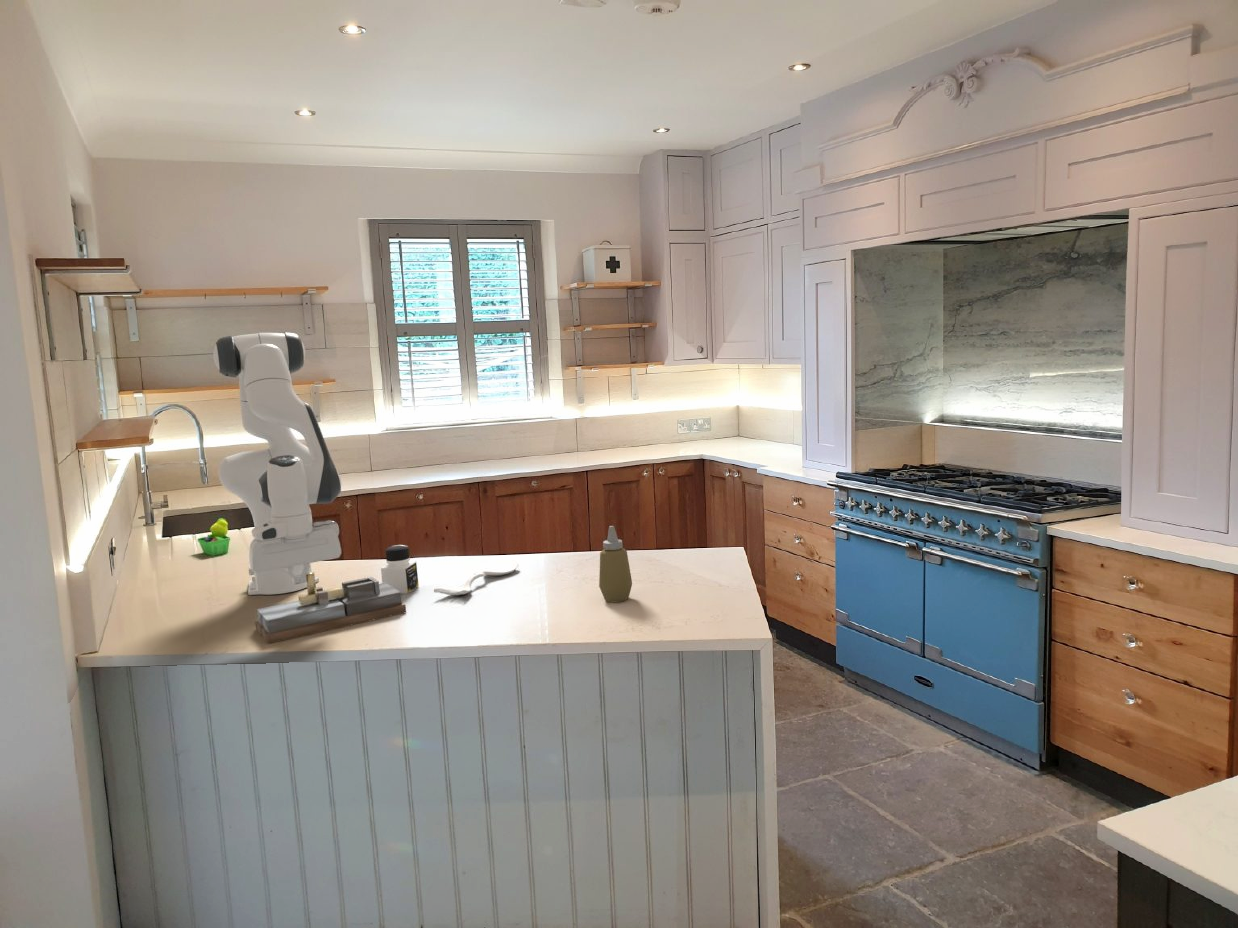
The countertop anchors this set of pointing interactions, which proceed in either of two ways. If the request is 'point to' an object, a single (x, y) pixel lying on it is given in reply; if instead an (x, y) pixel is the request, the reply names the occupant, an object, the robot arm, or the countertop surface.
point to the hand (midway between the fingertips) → (299, 583)
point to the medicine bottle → (400, 569)
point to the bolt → (312, 592)
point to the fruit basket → (216, 539)
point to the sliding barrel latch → (330, 610)
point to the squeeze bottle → (614, 569)
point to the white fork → (493, 570)
